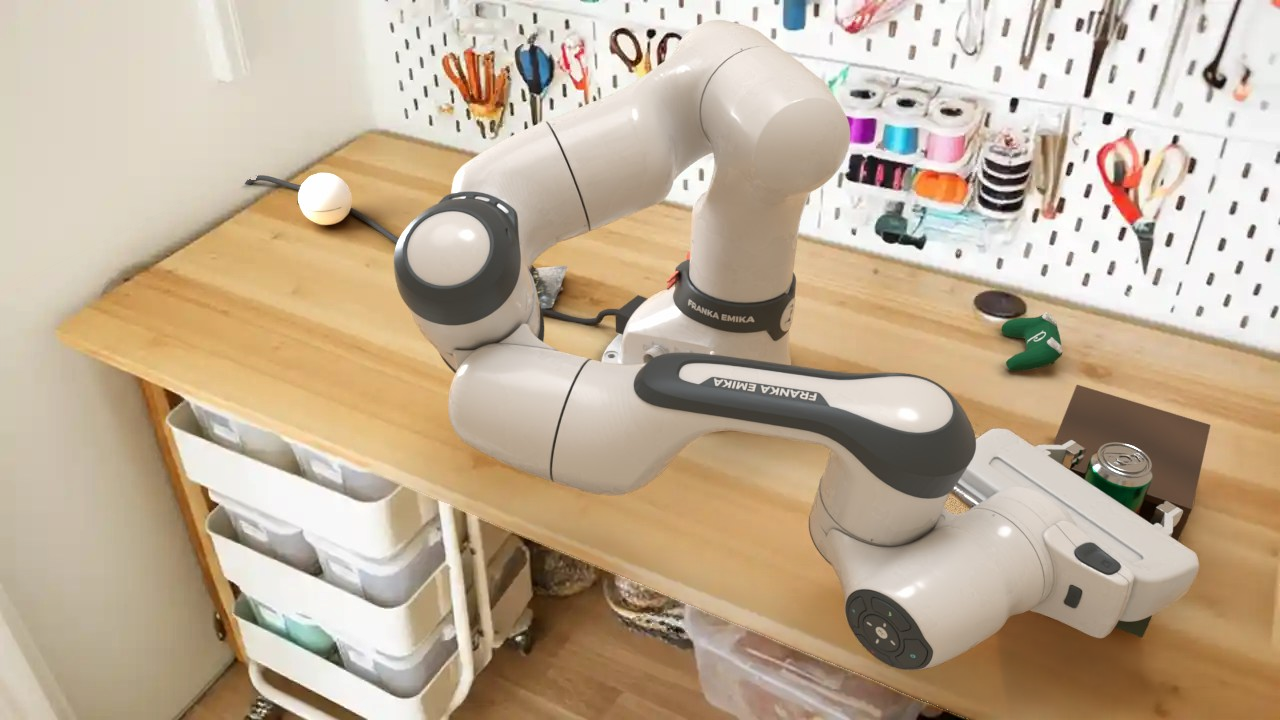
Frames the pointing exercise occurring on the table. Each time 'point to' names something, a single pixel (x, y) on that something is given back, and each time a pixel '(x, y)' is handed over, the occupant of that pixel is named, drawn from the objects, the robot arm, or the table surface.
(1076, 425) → the cabinet
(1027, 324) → the gaming controller
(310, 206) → the white egg shape
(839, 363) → the table surface
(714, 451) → the table surface
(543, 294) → the statue
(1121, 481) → the soda can
